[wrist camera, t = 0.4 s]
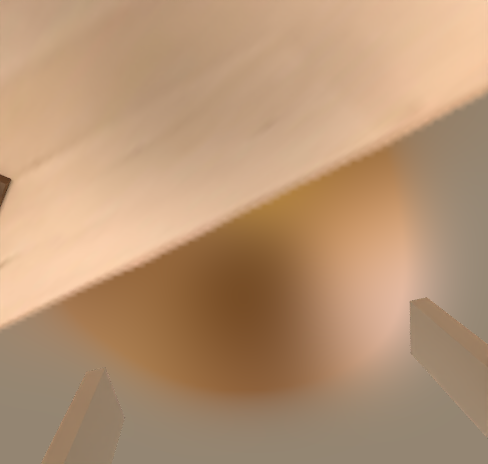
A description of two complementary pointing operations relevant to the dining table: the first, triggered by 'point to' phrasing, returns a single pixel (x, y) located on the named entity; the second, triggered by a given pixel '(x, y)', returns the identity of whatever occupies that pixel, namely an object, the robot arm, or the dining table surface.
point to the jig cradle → (3, 187)
